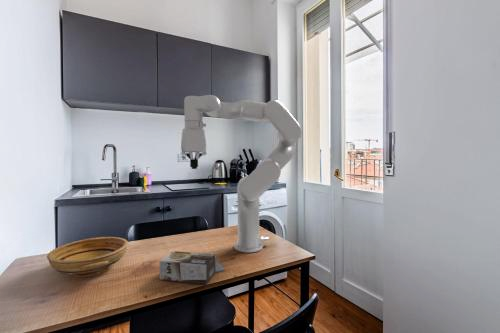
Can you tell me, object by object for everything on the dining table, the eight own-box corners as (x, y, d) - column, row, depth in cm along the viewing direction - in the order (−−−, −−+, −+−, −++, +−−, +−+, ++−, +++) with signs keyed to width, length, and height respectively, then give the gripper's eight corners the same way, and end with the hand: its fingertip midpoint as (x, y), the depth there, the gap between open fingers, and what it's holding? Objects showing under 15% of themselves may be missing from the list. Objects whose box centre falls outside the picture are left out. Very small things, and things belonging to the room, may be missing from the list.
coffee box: (159, 280, 80) (206, 285, 77) (158, 260, 80) (206, 264, 77) (173, 268, 89) (216, 271, 86) (172, 250, 89) (216, 253, 86)
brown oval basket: (48, 264, 93) (47, 243, 93) (119, 249, 108) (119, 231, 108) (46, 300, 70) (45, 272, 69) (138, 274, 85) (137, 251, 84)
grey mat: (213, 256, 100) (213, 255, 100) (224, 270, 88) (224, 269, 88) (167, 264, 93) (167, 263, 93) (171, 281, 80) (171, 280, 80)
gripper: (208, 127, 113) (208, 168, 113) (174, 126, 106) (175, 168, 107) (213, 125, 106) (213, 168, 106) (176, 124, 100) (177, 169, 100)
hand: (194, 168), depth 107 cm, fingers closed
